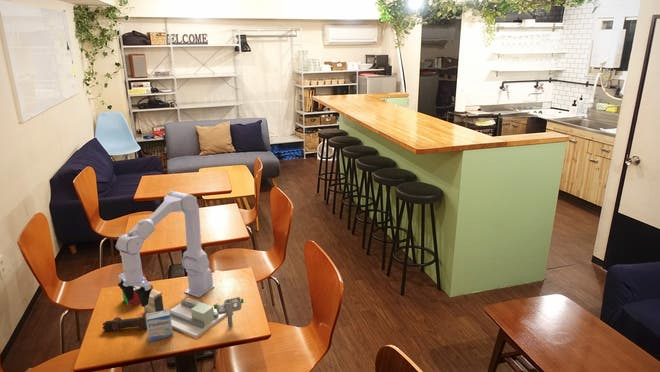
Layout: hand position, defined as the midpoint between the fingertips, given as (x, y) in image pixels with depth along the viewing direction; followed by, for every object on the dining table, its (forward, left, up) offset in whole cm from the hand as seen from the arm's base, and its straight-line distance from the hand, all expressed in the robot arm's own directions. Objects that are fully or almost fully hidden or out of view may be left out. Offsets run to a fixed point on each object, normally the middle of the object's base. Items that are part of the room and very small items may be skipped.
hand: (137, 302), depth 157 cm
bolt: (+3, -4, -11) cm, 12 cm away
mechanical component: (-16, +27, -10) cm, 34 cm away
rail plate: (-13, +12, -10) cm, 20 cm away
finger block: (-9, -4, -10) cm, 14 cm away
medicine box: (0, +10, -10) cm, 14 cm away
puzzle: (-10, -17, -10) cm, 22 cm away
